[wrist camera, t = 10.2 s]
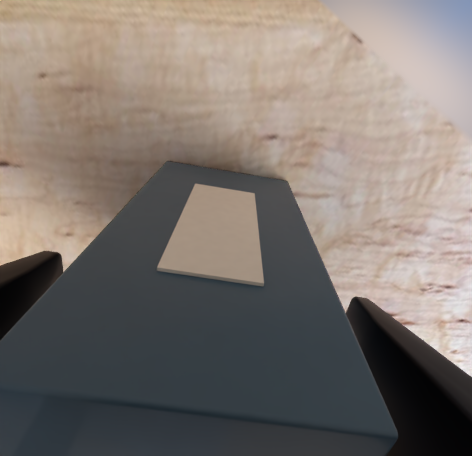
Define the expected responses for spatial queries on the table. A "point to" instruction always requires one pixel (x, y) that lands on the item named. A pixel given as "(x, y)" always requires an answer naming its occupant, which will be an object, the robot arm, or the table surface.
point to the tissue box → (193, 336)
